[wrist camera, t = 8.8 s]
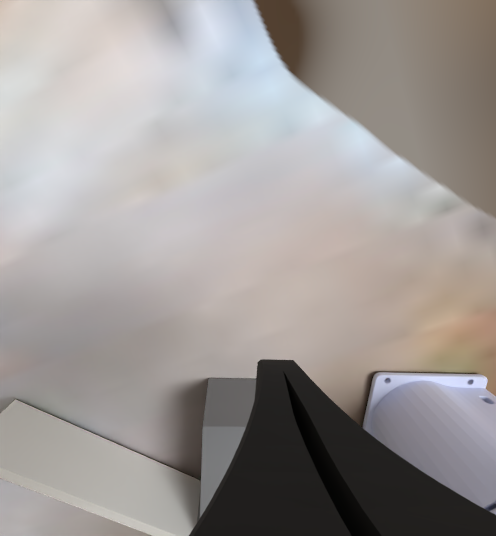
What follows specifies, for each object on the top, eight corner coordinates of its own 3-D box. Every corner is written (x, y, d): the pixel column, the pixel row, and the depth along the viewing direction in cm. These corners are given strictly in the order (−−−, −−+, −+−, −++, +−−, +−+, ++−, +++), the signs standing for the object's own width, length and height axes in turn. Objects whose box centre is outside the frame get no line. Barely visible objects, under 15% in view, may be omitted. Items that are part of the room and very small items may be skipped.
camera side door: (15, 399, 20) (-41, 451, 16) (205, 482, 23) (199, 544, 19) (8, 410, 20) (-49, 465, 16) (197, 492, 23) (190, 554, 19)
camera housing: (297, 379, 21) (314, 426, 17) (283, 486, 24) (294, 550, 20) (208, 378, 21) (202, 426, 16) (204, 487, 23) (198, 554, 19)
